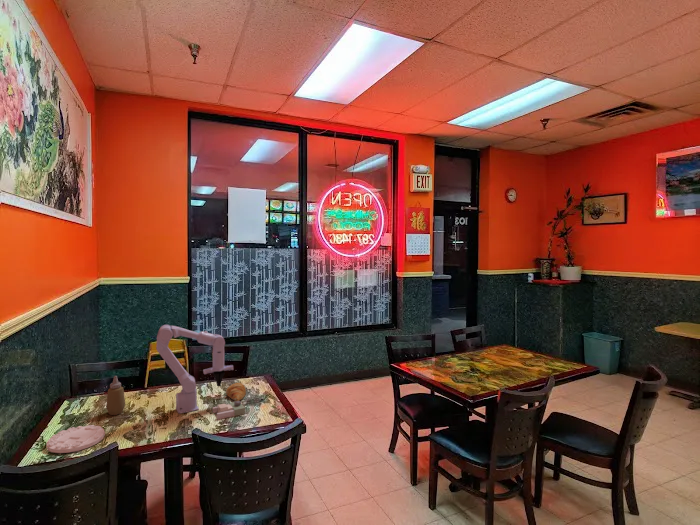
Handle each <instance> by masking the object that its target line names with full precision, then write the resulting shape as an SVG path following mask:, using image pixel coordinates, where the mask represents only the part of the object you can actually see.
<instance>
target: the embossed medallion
mask: <svg viewBox="0 0 700 525" xmlns="http://www.w3.org/2000/svg"><path fill="white" fill-rule="evenodd" d="M105 434H106V433H105V429H104V427H102V426H100V425H94V424H89V425H85V426H82V425H79V426H77V427H75V426H72V427H69V428H67V429H66V430H64V429H63V430H60V431H58V432H57V433H56V434H53V435H52V436H51V437H49V439H48V440H47V441H46V450H47V451H48V452H50V453H55V454H65V453H66V454H67V453H74V452H79V451H82V450H84V449H87V448H90V447H93V446H95V445H96V444H98V443H100V442H101V441H102V440H103V439H104V438H105Z"/></svg>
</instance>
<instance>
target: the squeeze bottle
mask: <svg viewBox="0 0 700 525" xmlns="http://www.w3.org/2000/svg"><path fill="white" fill-rule="evenodd" d="M125 405H126V398H125V390H124V387H123V386H122V382H120V381H119V380H118V376H117V375H114V376H113V380H112V382H111V383H110V384H109V388H108V390H107V395H106V405H105V406H106V407H105V409H106V410H107V412H108V414H109V415H110V416H116V415H120V414H122V413H123V412H124V410H125Z"/></svg>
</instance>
